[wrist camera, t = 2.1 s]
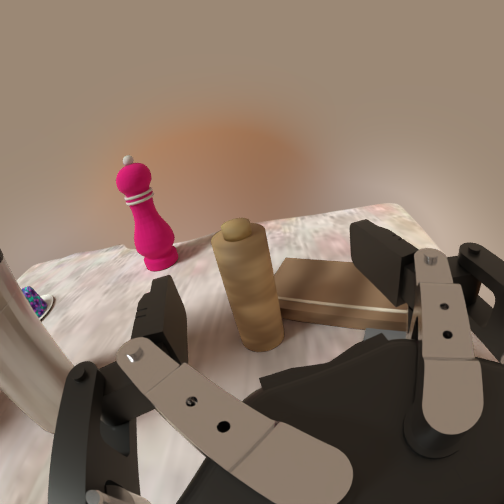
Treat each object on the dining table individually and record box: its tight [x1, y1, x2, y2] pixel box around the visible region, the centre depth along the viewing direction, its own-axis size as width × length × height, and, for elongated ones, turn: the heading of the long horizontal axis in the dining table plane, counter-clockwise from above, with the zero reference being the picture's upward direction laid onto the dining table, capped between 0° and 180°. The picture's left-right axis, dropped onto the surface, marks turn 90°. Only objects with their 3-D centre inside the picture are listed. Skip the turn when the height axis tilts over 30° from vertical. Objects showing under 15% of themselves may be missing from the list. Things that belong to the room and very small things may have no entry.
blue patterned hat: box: [22, 286, 53, 319], centre depth 40 cm, size 12×12×5 cm
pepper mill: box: [116, 155, 178, 271], centre depth 44 cm, size 7×7×20 cm
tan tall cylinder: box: [211, 218, 284, 352], centre depth 26 cm, size 5×5×13 cm
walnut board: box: [274, 258, 408, 332], centre depth 31 cm, size 20×10×2 cm, turn 64°
